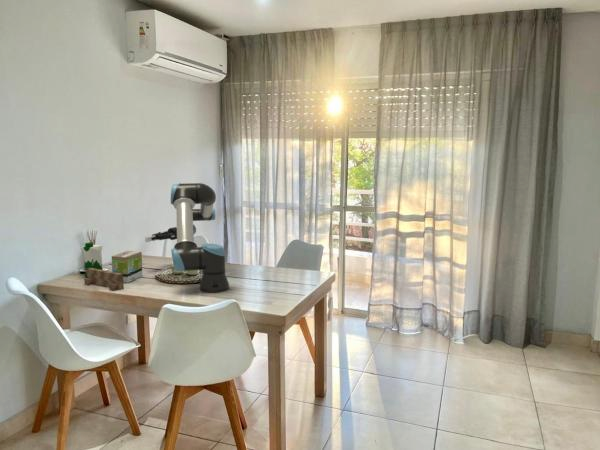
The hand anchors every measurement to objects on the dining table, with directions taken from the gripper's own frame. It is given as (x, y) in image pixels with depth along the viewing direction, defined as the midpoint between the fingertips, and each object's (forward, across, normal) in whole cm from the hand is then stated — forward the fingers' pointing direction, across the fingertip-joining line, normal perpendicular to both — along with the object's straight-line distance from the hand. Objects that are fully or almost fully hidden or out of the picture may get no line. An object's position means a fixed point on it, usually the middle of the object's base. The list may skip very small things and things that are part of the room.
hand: (146, 239), depth 274 cm
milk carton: (+21, +21, -20) cm, 36 cm away
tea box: (+15, 0, -20) cm, 25 cm away
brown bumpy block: (+31, 0, -20) cm, 37 cm away
